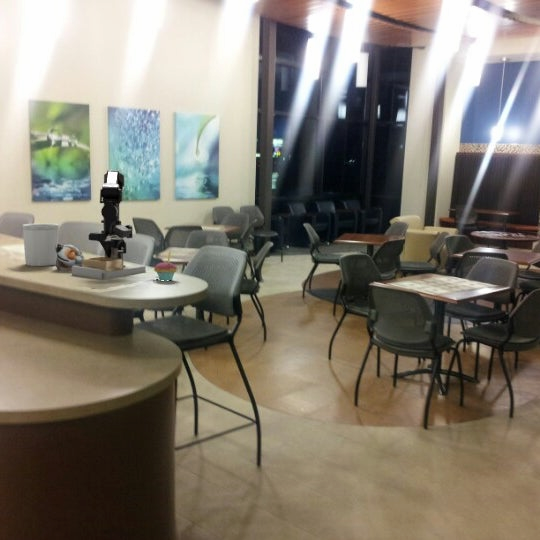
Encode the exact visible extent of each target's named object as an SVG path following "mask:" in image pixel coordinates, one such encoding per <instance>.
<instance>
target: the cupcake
mask: <svg viewBox="0 0 540 540" xmlns="http://www.w3.org/2000/svg"><path fill="white" fill-rule="evenodd" d="M170 258H171V249H170V250H169V252H168V256H167V261H165V262H159V263H157V264H156V265H155V267H154V268H153V269H154V272H156V273H157V276H158V279H159V281H160V280H164V281H163V282H168V281H167V280H172V281H173V278H174V275H175V273H176V272H177V270H178V267H177V266H176V265H175V264H174V263H172V262H171V261H170V260H171V259H170Z"/></svg>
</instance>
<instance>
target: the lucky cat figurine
mask: <svg viewBox="0 0 540 540" xmlns="http://www.w3.org/2000/svg"><path fill="white" fill-rule="evenodd" d="M55 249H56V253H57V259H56V265H55V267H56V270H57V271H62V270H72V266H79V267H82V259H86V257H85V256H84V255H83V252H82V251H81V250H80V248H79V247H76V246H74V245H73V244H59V243H58V244H56V245H55Z"/></svg>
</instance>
